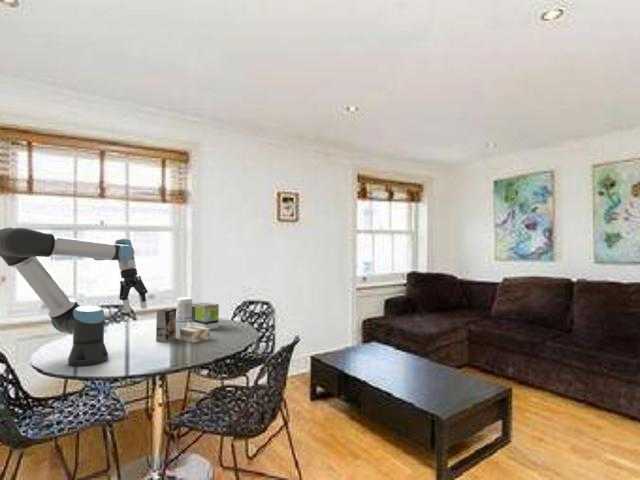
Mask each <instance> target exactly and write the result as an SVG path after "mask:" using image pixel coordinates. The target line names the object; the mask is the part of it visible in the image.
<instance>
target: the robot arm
mask: <svg viewBox="0 0 640 480" xmlns="http://www.w3.org/2000/svg"><path fill="white" fill-rule="evenodd" d="M51 256H60V257H61V256H63V257H76V258H84V259H85V258H86V259H93V260H95V261H118V268H119V270H120V277H121V279H123V280H120V282H119V284H120V287H119V297H118V298H119V300H121V301H122V303H123V308H124V313H125V314H127V313H131V312H132V310H131V305H130V299H129V294H130V291H131V289H132V288H133V289H134V290H135V291H136V292H137V293H138V299H139V303H140V308H141V310H144V309H147V308H148V305H147V298H146V294H147V293H149V291H148V289H147V288H146V286H145V283H144V282H143V280H142V277H141V275H138V271H137V269H138V268H136V267H137V265H136V261H135V250H134V248H133V244H132V240H131V239H130V238H120V239H115V241H114V243H110V242H105V241H104V242H103V241H95V240H88V239H81V238H80V239H79V238H70V237H63V236H56V235H54V233H50V232H45V231H39V230H34V229H31V228H25V227H15V228H13V227H4V228H1V229H0V257H1V259H2V260H3V261H4V263H6V265H7V266H8V267H12V268H15V269H16V270H17V272H18V273H19V274H20V275H21V276H22V278H24V280H25V282H26V283H27V284H28V285H29V287H30V288H31V289H32V290H33V292H34V293H35V294H36V295H37V296H38V298H39V299H40V300H41V301H42V303H43V304H44V305H45V307H46V308H47V309H48V310H49V312H48V316H49V318H50V322H51V325H52V326H53V328H54V329H55V330H57V331H58V332H60V333H64V334H69V335H73V337H72V340H73V341H72V347H71V350H70V353H69V356H68V359H67V361H68V362H67V364H68V365H69V366H72V367H88V366H94V365H95V366H96V365H99V364H102V363H104V362H107V361H108V360H109V353H108V350H107V348H106V344H105V341H104V340H105V312H104V308H102V307H100V306H97V305H82V306H80V304H79V303H78V302H77V300H76V299H74V298H70V297H69V296H68V294H66V292H65V290H63V288H62V287H61V286H60V284H59V283H58V282H57V280H56V278H54V276H53V275H52V274H51V273H50V271H49V269H48V268H47V267H46V266H45V265H44V263H43V262H42V260H41V259H40V258H39V257H41V258H42V257H44V258H45V257H46V258H50V257H51Z"/></svg>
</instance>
